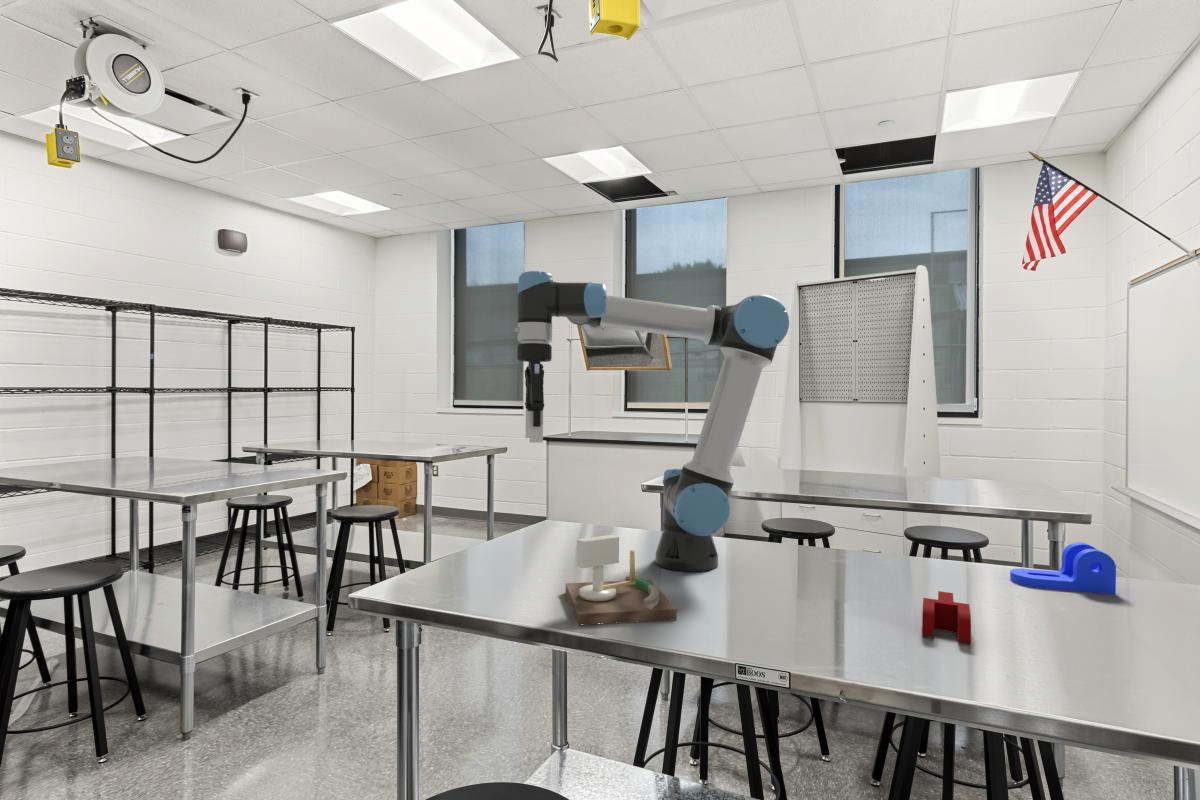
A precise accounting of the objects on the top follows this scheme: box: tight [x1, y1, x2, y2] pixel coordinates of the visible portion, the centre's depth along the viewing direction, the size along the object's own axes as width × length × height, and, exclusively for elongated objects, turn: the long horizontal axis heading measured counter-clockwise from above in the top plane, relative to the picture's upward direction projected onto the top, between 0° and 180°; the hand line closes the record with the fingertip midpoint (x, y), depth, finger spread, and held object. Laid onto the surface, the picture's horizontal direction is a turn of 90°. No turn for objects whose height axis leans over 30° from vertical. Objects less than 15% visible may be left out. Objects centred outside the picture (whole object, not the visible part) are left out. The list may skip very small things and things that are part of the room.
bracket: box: [1009, 542, 1117, 595], centre depth 140 cm, size 18×8×9 cm, turn 72°
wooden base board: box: [565, 574, 678, 626], centre depth 123 cm, size 18×18×4 cm
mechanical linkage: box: [921, 590, 972, 645], centre depth 113 cm, size 16×7×5 cm, turn 152°
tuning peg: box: [576, 534, 636, 601], centre depth 123 cm, size 7×12×11 cm, turn 122°
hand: (533, 440), depth 140 cm, fingers open, 13 cm apart
